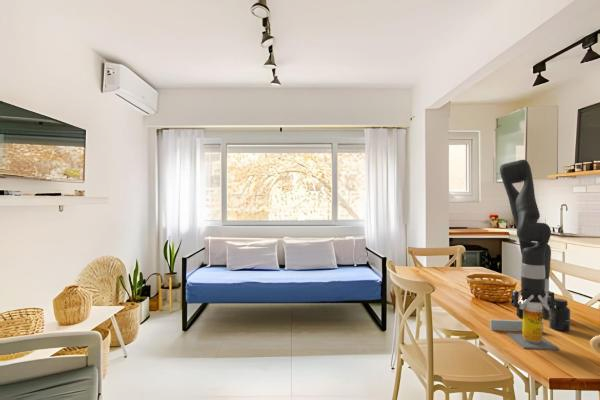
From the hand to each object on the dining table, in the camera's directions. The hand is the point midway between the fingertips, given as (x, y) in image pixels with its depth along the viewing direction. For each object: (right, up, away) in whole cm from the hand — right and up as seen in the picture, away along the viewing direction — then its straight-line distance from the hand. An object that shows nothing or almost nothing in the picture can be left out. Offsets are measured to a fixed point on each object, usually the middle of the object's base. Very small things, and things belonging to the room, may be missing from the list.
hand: (532, 318), depth 128 cm
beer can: (0, -9, 0) cm, 9 cm away
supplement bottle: (+20, -9, +13) cm, 26 cm away
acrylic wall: (+1, -9, +11) cm, 14 cm away
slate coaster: (0, -9, 0) cm, 9 cm away
